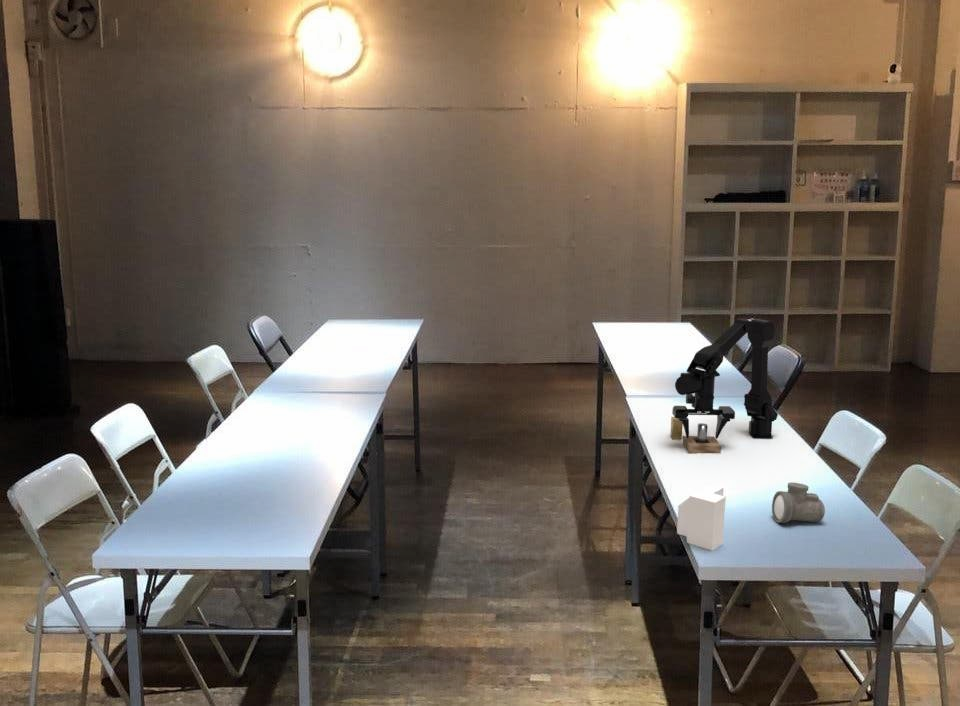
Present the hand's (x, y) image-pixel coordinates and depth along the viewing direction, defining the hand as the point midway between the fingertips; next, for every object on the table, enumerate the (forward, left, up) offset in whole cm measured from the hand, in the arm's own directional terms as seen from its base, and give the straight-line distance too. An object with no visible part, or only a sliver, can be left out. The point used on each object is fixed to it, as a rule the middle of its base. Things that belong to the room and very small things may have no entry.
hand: (701, 438), depth 296 cm
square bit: (+6, -11, -4) cm, 13 cm away
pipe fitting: (-12, +60, -4) cm, 61 cm away
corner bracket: (+15, +71, -4) cm, 73 cm away
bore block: (0, 0, -4) cm, 4 cm away
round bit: (0, 0, -4) cm, 4 cm away
